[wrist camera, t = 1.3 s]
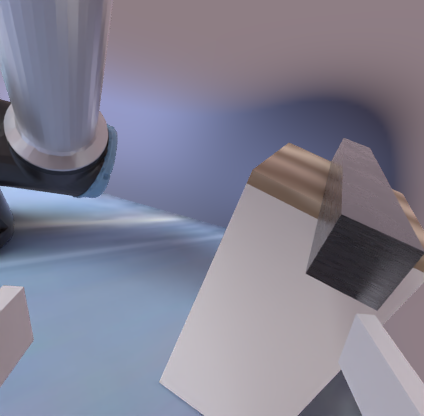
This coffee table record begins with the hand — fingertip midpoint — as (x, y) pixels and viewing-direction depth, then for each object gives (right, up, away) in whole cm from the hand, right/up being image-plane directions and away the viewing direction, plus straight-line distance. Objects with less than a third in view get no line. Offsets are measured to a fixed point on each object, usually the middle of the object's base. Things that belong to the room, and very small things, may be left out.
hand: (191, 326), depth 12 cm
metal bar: (+11, +6, +11) cm, 17 cm away
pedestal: (+3, -18, +30) cm, 35 cm away
